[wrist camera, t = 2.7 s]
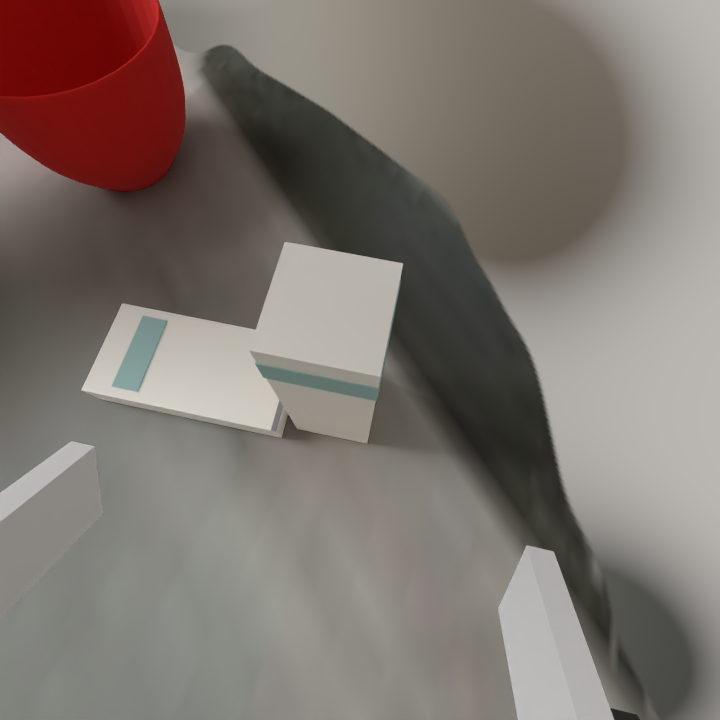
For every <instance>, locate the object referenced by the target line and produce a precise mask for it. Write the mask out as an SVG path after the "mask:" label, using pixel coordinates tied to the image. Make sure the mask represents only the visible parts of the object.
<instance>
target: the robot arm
mask: <svg viewBox="0 0 720 720" xmlns="http://www.w3.org/2000/svg"><path fill="white" fill-rule="evenodd" d="M102 515H103V510H102V502H101V493H100V485H99V477H98V469H97V460H96V452H95V446H91V445H86V444H82V443H77V442H73V441H71V442H69V443H68V444H67V445H65V446H64V447H63V448H61V449H60V450H58V451H57V452H56V453H54V454H53V455H52V456H50V457H49V458H47V459H46V460H45V461H43V462H42V463H41V464H39V465H38V466H36V467H35V468H34V469H32V470H31V471H30V472H28V473H27V474H25V475H24V476H23V477H21V478H20V479H19V480H17V481H16V482H14V483H13V484H12V485H10V486H9V487H8V488H6V489H5V490H3V491H2V492H1V493H0V620H1V619H2V618H3V617H4V616H5V615H6V614H7V613H8V612H9V611H10V610H11V609H12V608H13V607H14V605H15V604H16V603H17V602H18V601H19V600H20V599H21V598H22V597H23V596H24V595H25V594H26V593H27V592H28V591H29V590H30V589H31V588H32V587H33V586H34V585H35V584H36V583H37V582H38V581H39V580H40V579H41V578H42V577H43V576H44V575H45V574H46V573H47V572H48V570H49V569H50V568H51V567H52V566H53V565H54V564H55V563H56V562H57V561H58V560H59V559H60V558H61V557H62V556H63V555H64V554H65V553H66V552H67V551H68V550H69V549H70V548H71V547H72V546H73V545H74V544H75V543H76V542H77V541H78V540H79V539H80V538H81V537H82V535H83V534H84V533H85V532H86V531H87V530H88V529H89V528H90V527H91V526H92V525H93V524H94V523H95V522H96V521H97V520H98V519H99V518H100V517H101V516H102ZM498 611H499V617H500V622H501V628H502V633H503V639H504V645H505V650H506V656H507V661H508V667H509V672H510V678H511V684H512V689H513V695H514V700H515V706H516V711H517V717H518V720H640V719H639V718H638V716H637V715H636V714H632V713H628V712H624V711H620V710H616V709H612V708H610V707H609V704H608V701H607V698H606V695H605V693H604V690H603V687H602V684H601V682H600V679H599V676H598V673H597V670H596V668H595V665H594V662H593V659H592V657H591V654H590V651H589V648H588V645H587V643H586V640H585V637H584V634H583V632H582V629H581V626H580V623H579V620H578V618H577V615H576V612H575V609H574V607H573V604H572V601H571V598H570V595H569V593H568V590H567V587H566V584H565V582H564V579H563V576H562V573H561V570H560V568H559V565H558V562H557V559H556V557H555V554H554V551H549V550H545V549H540V548H536V547H532V546H526V548H525V550H524V552H523V555H522V557H521V559H520V561H519V563H518V566H517V568H516V570H515V572H514V575H513V577H512V579H511V581H510V584H509V586H508V588H507V590H506V592H505V595H504V597H503V599H502V601H501V604H500V606H499V608H498Z"/></svg>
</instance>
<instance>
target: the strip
mask: <svg viewBox="0 0 720 720" xmlns="http://www.w3.org/2000/svg"><path fill="white" fill-rule="evenodd" d="M254 333H255V329H249V328H244V327H239V326H234V325H229V324H224V323H219V322H214V321H209V320H204V319H199V318H194V317H189V316H184V315H179V314H174V313H169V312H164V311H159V310H154V309H149V308H144V307H139V306H134V305H129V304H124V303H122V305H121V307H120V309H119V311H118V313H117V316H116V318H115V320H114V322H113V324H112V326H111V328H110V330H109V332H108V335H107V337H106V339H105V341H104V343H103V345H102V347H101V349H100V352H99V354H98V356H97V358H96V360H95V362H94V364H93V366H92V368H91V371H90V373H89V375H88V377H87V379H86V381H85V383H84V385H83V388H82V391H84V392H86V393H88V394H90V395H92V396H94V397H97V398H99V399H101V400H106V401H111V402H115V403H120V404H125V405H129V406H134V407H139V408H143V409H148V410H153V411H157V412H162V413H167V414H171V415H176V416H181V417H186V418H190V419H195V420H200V421H204V422H209V423H214V424H218V425H223V426H228V427H232V428H237V429H242V430H246V431H251V432H256V433H260V434H265V435H270V436H275V437H279V438H282V435H283V431H284V428H285V424H286V420H287V417H288V413H287V412H286V410H285V408H284V407H283V405H282V403H281V402H280V400H279V399H278V397H277V395H276V394H275V392H274V390H273V389H272V387H271V386H270V384H269V382H268V381H267V379H266V378H263V376H262V374H261V373H260V371H259V370H258V368H257V367H256V365H255V362H256V361H255V360H254V358H253V356H252V355H251V353H250V351H249V348H250V345H251V342H252V339H253V336H254Z"/></svg>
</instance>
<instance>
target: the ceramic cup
mask: <svg viewBox="0 0 720 720" xmlns="http://www.w3.org/2000/svg"><path fill="white" fill-rule="evenodd" d="M184 128H185V94H184V87H183V81H182V76H181V72H180V68H179V64H178V60H177V57H176V53H175V50H174V46H173V43H172V40H171V37H170V34H169V30H168V27H167V24H166V21H165V18H164V15H163V12H162V9H161V6H160V4H159V1H158V0H0V133H1V134H3V135H4V136H5V137H6V138H7V139H8V140H10V141H11V142H12V143H13V144H14V145H16V146H17V147H18V148H20V149H21V150H22V151H24V152H25V153H26V154H28V155H29V156H31V157H32V158H34V159H35V160H37V161H38V162H40V163H41V164H43V165H44V166H46V167H47V168H49V169H51V170H52V171H54V172H56V173H58V174H60V175H63V176H65V177H68V178H70V179H73V180H75V181H78V182H80V183H84V184H87V185H92V186H97V187H101V188H108V189H112V190H117V191H132V190H138V189H141V188H145V187H147V186H149V185H152V184H153V183H155V182H156V181H158V180H159V179H160V178H162V177H163V176H164V175H165V174H166V172H167V171H168V170H169V168H170V166H171V165H172V161H173V159H174V157H175V155H176V153H177V151H178V149H179V147H180V144H181V141H182V137H183V133H184Z"/></svg>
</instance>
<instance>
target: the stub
mask: <svg viewBox="0 0 720 720" xmlns="http://www.w3.org/2000/svg"><path fill="white" fill-rule="evenodd" d="M402 267H403V263H397V262H392V261H387V260H381V259H376V258H370V257H365V256H360V255H354V254H349V253H343V252H338V251H333V250H327V249H322V248H317V247H311V246H306V245H300V244H295V243H290V242H284V246H283V249H282V252H281V255H280V258H279V261H278V264H277V267H276V270H275V273H274V276H273V279H272V282H271V285H270V288H269V291H268V294H267V297H266V300H265V303H264V306H263V309H262V312H261V315H260V318H259V321H258V324H257V327H256V330H255V333H254V336H253V339H252V342H251V345H250V348H249V351H250V353H251V355H252V356H253V358H254V360H255V361H256V362H255V365H256V367H257V368H258V370H259V371H260V373H261V374H262V376H263V378H266V379H267V381H268V382H269V384H270V386H271V387H272V389H273V390H274V392H275V394H276V395H277V397H278V399H279V400H280V402H281V403H282V405H283V407H284V408H285V410H286V412H287V413H288V415H289V416H290V418H291V420H292V421H293V423H294V425H295V426H296V428H297V429H300V430H304V431H309V432H314V433H319V434H323V435H328V436H333V437H337V438H342V439H347V440H352V441H356V442H361V443H366V444H367V443H368V438H369V433H370V428H371V423H372V418H373V413H374V408H375V403H376V401H377V399H378V394H379V389H380V384H381V379H382V374H383V369H384V364H385V359H386V354H387V349H388V344H389V339H390V334H391V329H392V324H393V319H394V314H395V309H396V304H397V299H398V294H399V289H400V284H401V280H400V277H401V272H402Z"/></svg>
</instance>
